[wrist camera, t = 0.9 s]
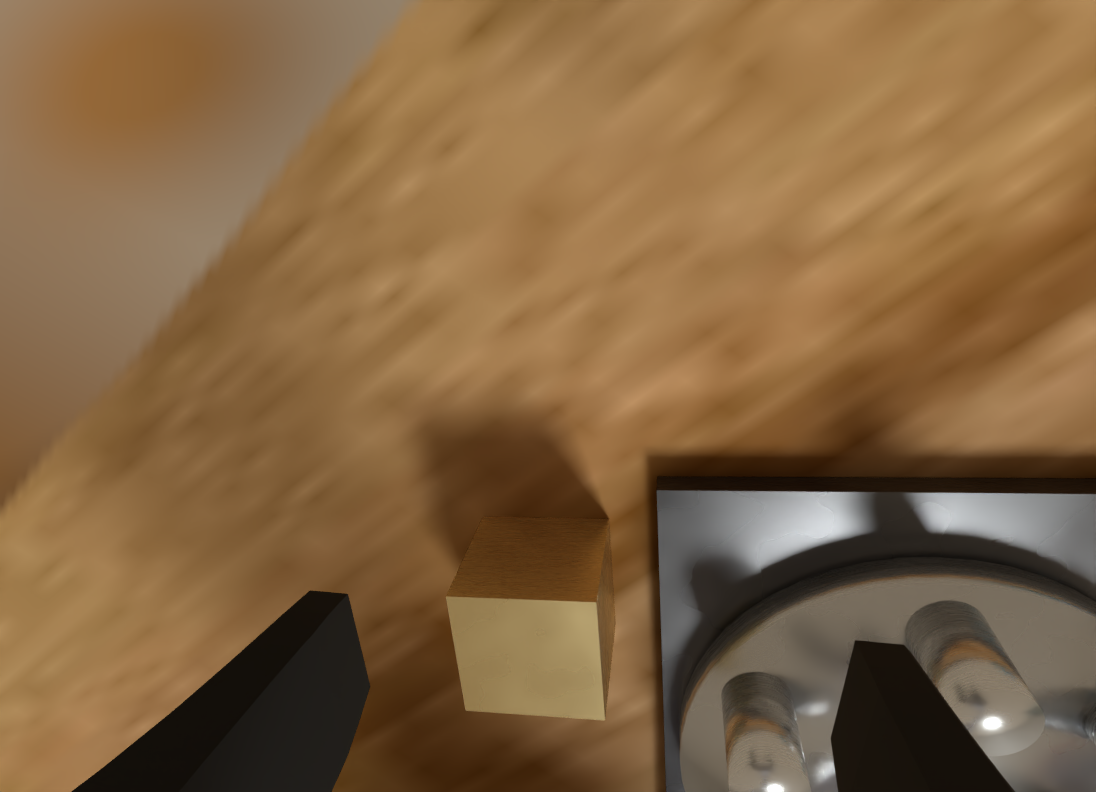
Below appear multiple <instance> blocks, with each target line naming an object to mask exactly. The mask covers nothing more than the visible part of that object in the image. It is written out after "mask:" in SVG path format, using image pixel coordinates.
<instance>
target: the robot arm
mask: <svg viewBox="0 0 1096 792" xmlns="http://www.w3.org/2000/svg"><path fill="white" fill-rule="evenodd" d="M369 689H370V684H369V680H368V675H367V671H366V667H365V663H364V659H363V655H362V651H361V647H360V642H359V638H358V634H357V630H356V626H355V622H354V618H353V613H352V609H351V605H350V601H349V597H348V594H342V593H331V592H320V591H309V592H308V593H307V594H306V595H304V596H303V597H302V598H301V599H300V600H299V601H298V602H296V603H295V604H294V605H293V606H292V607H291V608H290V609H288V610H287V611H286V612H285V613H284V614H283V615H282V616H281V617H279V618H278V619H277V620H276V621H275V622H274V623H273V624H272V625H270V626H269V627H268V628H267V629H266V630H265V631H264V632H263V633H261V634H260V635H259V636H258V637H257V638H256V639H255V640H254V641H253V642H251V643H250V644H249V645H248V646H247V647H246V648H245V649H244V650H242V651H241V652H240V653H239V654H238V655H237V656H236V657H235V658H233V659H232V660H231V661H230V662H229V663H228V664H227V665H226V666H224V667H223V668H222V669H221V670H220V671H219V672H218V673H216V674H215V675H214V676H213V677H212V678H211V679H209V680H208V681H207V682H206V683H205V684H204V685H203V686H201V687H200V688H199V689H198V690H197V691H196V692H194V693H193V694H192V695H191V696H190V697H189V698H188V699H186V700H185V701H184V702H183V703H182V704H181V705H179V706H178V707H177V708H176V709H175V710H174V711H172V712H171V713H170V714H169V715H168V716H166V717H165V718H164V719H163V720H161V721H160V722H159V723H158V724H156V725H155V726H154V727H153V728H152V729H150V730H149V731H148V732H147V733H145V734H144V735H143V736H142V737H140V738H139V739H138V740H137V741H136V742H134V743H133V744H132V745H131V746H129V747H128V748H127V749H126V750H124V751H123V752H122V753H121V754H119V755H118V756H117V757H116V758H115V759H113V760H112V761H111V762H110V763H108V764H107V765H106V766H105V767H103V768H102V769H101V770H99V771H98V772H97V773H95V774H94V775H93V776H92V777H90V778H89V779H88V780H86V781H85V782H84V783H82V784H81V785H80V786H78V787H77V788H76V789H74V790H73V791H72V792H332V789H333V787H334V785H335V783H336V781H337V778H338V776H339V774H340V772H341V769H342V767H343V765H344V763H345V760H346V758H347V756H348V753H349V750H350V747H351V744H352V741H353V738H354V735H355V732H356V729H357V727H358V724H359V720H360V717H361V714H362V711H363V708H364V705H365V701H366V698H367V695H368V692H369ZM831 745H832V753H833V760H834V767H835V774H836V781H837V788H838V792H1015V791H1014V790H1013V788H1012V787H1011V786H1010V785H1009V783H1008V782H1007V781H1006V780H1005V778H1004V777H1003V776H1002V774H1001V773H1000V772H999V771H998V769H997V768H996V767H995V765H994V764H993V763H992V762H991V760H990V759H989V758H988V756H987V755H986V754H985V752H984V751H983V750H982V748H981V747H980V746H979V744H978V743H977V742H976V740H975V739H974V738H973V736H972V735H971V734H970V732H969V731H968V730H967V728H966V727H965V726H964V724H963V723H962V722H961V720H960V719H959V718H958V716H957V715H956V714H955V712H954V711H953V710H952V708H951V707H950V706H949V704H948V703H947V701H946V700H945V699H944V697H943V696H942V695H941V693H940V692H939V690H938V689H937V688H936V686H935V685H934V684H933V682H932V681H931V679H930V678H929V677H928V675H927V674H926V672H925V671H924V670H923V668H922V667H921V666H920V664H919V663H918V661H917V660H916V659H915V657H914V656H913V654H912V653H911V652H910V651H909V650H908V648H907V647H906V646H905V645H903V644H892V643H881V642H870V641H859V640H855V643H854V647H853V651H852V655H851V659H850V662H849V666H848V670H847V674H846V678H845V682H844V686H843V690H842V694H841V698H840V702H839V706H838V710H837V714H836V718H835V722H834V726H833V730H832V734H831Z"/></svg>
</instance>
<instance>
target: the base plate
mask: <svg viewBox="0 0 1096 792" xmlns="http://www.w3.org/2000/svg"><path fill="white" fill-rule="evenodd" d="M657 514H658V546H659V578H660V610H661V642H662V674H663V706H664V738H665V770H666V792H685V789H684V786H683V782H682V775H681V766H680V715H681V706H682V702H683V698H684V694H685V690H686V687H687V684H688V682H689V680H690V678H691V676H692V673H693V671H694V669H695V667H696V665H697V664H698V662H699V661H700V659H701V658H702V656H703V655H704V653H705V652H706V650H707V649H708V647H709V646H710V645H711V644H712V643H713V641H714V640H715V639H716V638H717V637H718V636H719V635H720V634H721V633H722V632H723V630H724V629H725V628H726V627H727V626H729V625H730V624H731V623H732V622H733V621H735V620H736V619H737V618H738V617H739V616H741V615H742V614H743V613H744V612H745V611H747V610H748V609H750V608H751V607H753V606H754V605H756V604H758V603H759V602H761V601H762V600H764V599H766V598H767V597H769V596H770V595H772V594H774V593H776V592H778V591H780V590H782V589H784V588H786V587H789V586H791V585H793V584H795V583H797V582H799V581H801V580H804V579H807V578H810V577H813V576H816V575H819V574H822V573H824V572H827V571H830V570H834V569H838V568H842V567H847V566H851V565H855V564H860V563H864V562H871V561H879V560H887V559H895V558H910V557H946V558H959V559H972V560H979V561H984V562H990V563H995V564H1001V565H1006V566H1011V567H1014V568H1017V569H1021V570H1024V571H1028V572H1031V573H1034V574H1038V575H1041V576H1044V577H1046V578H1049V579H1051V580H1053V581H1056V582H1058V583H1060V584H1063V585H1065V586H1067V587H1070V588H1072V589H1074V590H1076V591H1078V592H1080V593H1081V594H1083V595H1085V596H1086V597H1088V598H1090V599H1091V600H1093V601H1095V602H1096V479H1052V478H848V477H657Z"/></svg>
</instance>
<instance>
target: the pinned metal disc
mask: <svg viewBox="0 0 1096 792" xmlns="http://www.w3.org/2000/svg"><path fill="white" fill-rule="evenodd" d="M855 640H859V641H870V642H881V643H892V644H903V645H905V646H906V647H907V648H908V650H909V651H910V652H911V653H912V654H913V656H914V657H915V659H916V660H917V661H918V663H919V664H920V666H921V667H922V668H923V670H924V671H925V672H926V674H927V675H928V677H929V678H930V679H931V681H932V682H933V684H934V685H935V686H936V688H937V689H938V690H939V692H940V693H941V695H942V696H943V697H944V699H945V700H946V701H947V703H948V704H949V706H950V707H951V708H952V710H953V711H954V712H955V714H956V715H957V716H958V718H959V719H960V720H961V722H962V723H963V724H964V726H965V727H966V728H967V730H968V731H969V732H970V734H971V735H972V736H973V738H974V739H975V740H976V742H977V743H978V744H979V746H980V747H981V748H982V750H983V751H984V752H985V754H986V755H987V756H988V758H989V759H990V760H991V762H992V763H993V764H994V765H995V767H996V768H997V769H998V771H999V772H1000V773H1001V774H1002V776H1003V777H1004V778H1005V780H1006V781H1007V782H1008V783H1009V785H1010V786H1011V787H1012V788H1013V790H1014V791H1015V792H1096V602H1095V601H1093V600H1091V599H1090V598H1088V597H1086V596H1085V595H1083V594H1081V593H1080V592H1078V591H1076V590H1074V589H1072V588H1070V587H1067V586H1065V585H1063V584H1060V583H1058V582H1056V581H1053V580H1051V579H1049V578H1046V577H1044V576H1041V575H1038V574H1034V573H1031V572H1028V571H1024V570H1021V569H1017V568H1014V567H1011V566H1006V565H1001V564H995V563H990V562H984V561H979V560H972V559H959V558H946V557H910V558H895V559H887V560H879V561H871V562H864V563H860V564H855V565H851V566H847V567H842V568H838V569H834V570H830V571H827V572H824V573H822V574H819V575H816V576H813V577H810V578H807V579H804V580H801V581H799V582H797V583H795V584H793V585H791V586H789V587H786V588H784V589H782V590H780V591H778V592H776V593H774V594H772V595H770V596H769V597H767V598H766V599H764V600H762V601H761V602H759V603H758V604H756V605H754V606H753V607H751V608H750V609H748V610H747V611H745V612H744V613H743V614H742V615H741V616H739V617H738V618H737V619H736V620H735V621H733V622H732V623H731V624H730V625H729V626H727V627H726V628H725V629H724V630H723V632H722V633H721V634H720V635H719V636H718V637H717V638H716V639H715V640H714V641H713V643H712V644H711V645H710V646H709V647H708V649H707V650H706V652H705V653H704V655H703V656H702V658H701V659H700V661H699V662H698V664H697V665H696V667H695V669H694V671H693V673H692V676H691V678H690V680H689V682H688V684H687V687H686V690H685V694H684V698H683V702H682V706H681V715H680V766H681V775H682V782H683V786H684V789H685V792H838V788H837V781H836V774H835V767H834V760H833V753H832V745H831V734H832V730H833V726H834V722H835V718H836V714H837V710H838V706H839V702H840V698H841V694H842V690H843V686H844V682H845V678H846V674H847V670H848V666H849V662H850V659H851V655H852V651H853V647H854V643H855Z"/></svg>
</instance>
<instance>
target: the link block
mask: <svg viewBox="0 0 1096 792" xmlns="http://www.w3.org/2000/svg"><path fill="white" fill-rule="evenodd" d="M446 601H447V606H448V612H449V618H450V624H451V629H452V635H453V641H454V647H455V653H456V658H457V664H458V670H459V676H460V681H461V687H462V693H463V699H464V704H465V710H466V711H478V712H492V713H506V714H521V715H535V716H549V717H563V718H577V719H592V720H605V716H606V707H607V697H608V688H609V679H610V670H611V661H612V652H613V643H614V633H615V624H616V622H615V606H614V590H613V574H612V558H611V542H610V526H609V519H597V518H535V517H483V518H482V520H481V522H480V524H479V526H478V529H477V531H476V533H475V535H474V537H473V539H472V541H471V544H470V546H469V548H468V550H467V552H466V554H465V556H464V559H463V561H462V563H461V565H460V567H459V569H458V571H457V574H456V576H455V578H454V580H453V582H452V584H451V586H450V589H449V591H448V593H447V595H446Z"/></svg>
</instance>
